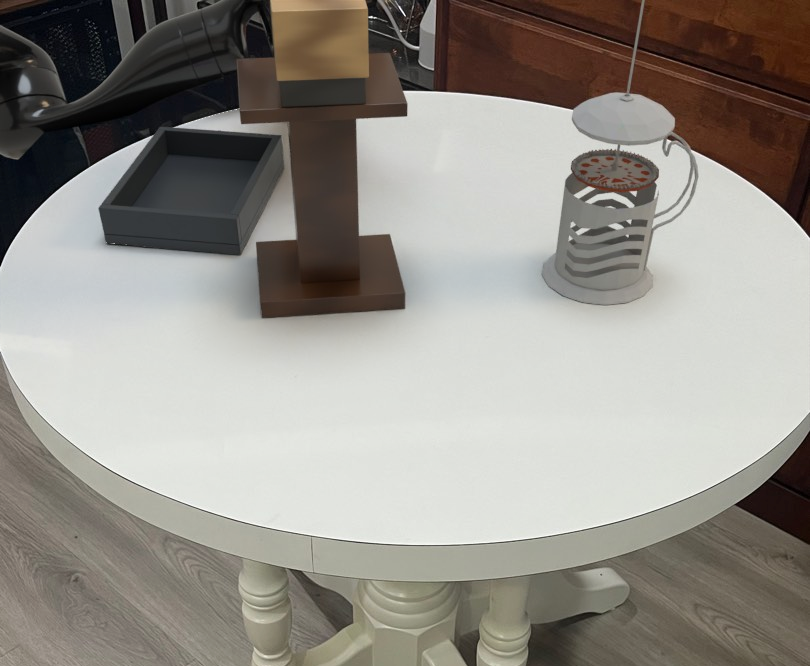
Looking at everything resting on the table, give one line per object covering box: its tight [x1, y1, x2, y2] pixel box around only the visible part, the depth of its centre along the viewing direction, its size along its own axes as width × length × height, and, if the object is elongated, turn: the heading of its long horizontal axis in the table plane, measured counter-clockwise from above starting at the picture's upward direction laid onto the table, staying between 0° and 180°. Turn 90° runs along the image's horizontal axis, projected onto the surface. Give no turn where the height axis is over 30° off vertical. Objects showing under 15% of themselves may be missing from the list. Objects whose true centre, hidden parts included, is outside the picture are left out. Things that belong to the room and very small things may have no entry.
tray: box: [97, 126, 285, 256], centre depth 95 cm, size 18×13×4 cm
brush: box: [270, 0, 370, 107], centre depth 74 cm, size 6×19×8 cm, turn 7°
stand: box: [236, 52, 409, 319], centre depth 80 cm, size 12×10×17 cm
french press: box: [541, 0, 699, 306], centre depth 79 cm, size 10×12×25 cm
